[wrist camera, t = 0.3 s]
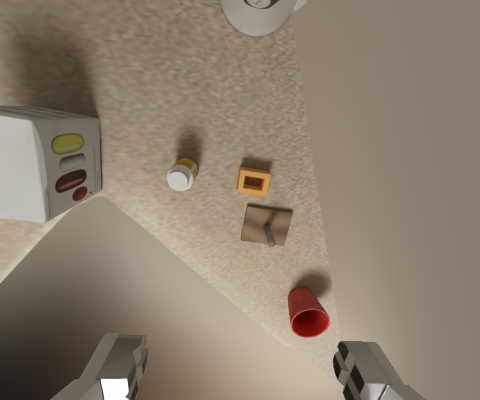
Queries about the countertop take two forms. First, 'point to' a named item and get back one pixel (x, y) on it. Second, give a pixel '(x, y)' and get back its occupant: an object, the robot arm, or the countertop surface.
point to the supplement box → (46, 161)
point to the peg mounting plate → (266, 225)
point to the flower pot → (306, 313)
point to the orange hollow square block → (253, 189)
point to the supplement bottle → (182, 174)
